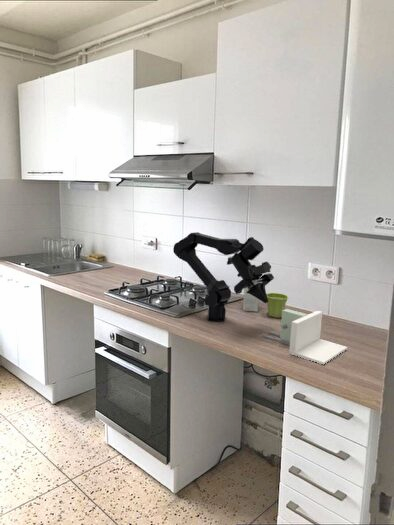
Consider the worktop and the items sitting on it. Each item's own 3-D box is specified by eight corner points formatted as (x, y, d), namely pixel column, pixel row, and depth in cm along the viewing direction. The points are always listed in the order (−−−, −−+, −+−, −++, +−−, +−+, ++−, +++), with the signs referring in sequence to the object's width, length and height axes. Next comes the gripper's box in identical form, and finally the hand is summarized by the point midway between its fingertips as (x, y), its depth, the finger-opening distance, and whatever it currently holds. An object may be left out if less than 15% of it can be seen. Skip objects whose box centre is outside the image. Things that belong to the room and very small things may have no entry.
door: (278, 341, 146) (280, 311, 144) (284, 338, 149) (286, 308, 147) (298, 347, 141) (301, 316, 139) (304, 344, 144) (307, 314, 142)
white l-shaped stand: (251, 340, 146) (253, 310, 144) (278, 328, 159) (280, 301, 157) (323, 365, 129) (327, 331, 127) (346, 349, 142) (350, 318, 140)
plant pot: (282, 312, 181) (283, 292, 179) (290, 319, 172) (291, 298, 170) (261, 312, 179) (262, 292, 178) (268, 319, 170) (269, 298, 169)
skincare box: (257, 312, 179) (259, 277, 176) (242, 310, 180) (244, 275, 177) (258, 306, 187) (261, 273, 184) (243, 305, 189) (246, 271, 186)
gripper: (242, 257, 144) (267, 295, 139) (271, 252, 158) (295, 286, 153) (223, 275, 151) (246, 312, 146) (253, 269, 164) (274, 302, 159)
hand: (266, 302), depth 151 cm, fingers closed
